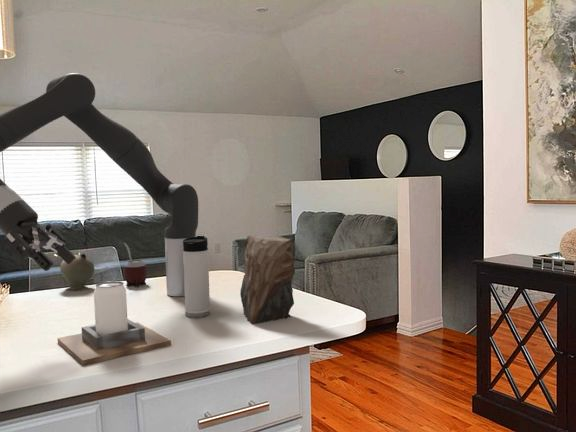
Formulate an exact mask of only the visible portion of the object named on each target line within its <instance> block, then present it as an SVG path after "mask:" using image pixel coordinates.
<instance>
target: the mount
mask: <svg viewBox="0 0 576 432" xmlns="http://www.w3.org/2000/svg"><path fill="white" fill-rule="evenodd" d="M127 320H128V330H125V331H120V332H115V333H111V334H106V335H99V334H98V333H96V325H95V324H92V325H86V326H82V327H81V333H77V334H73V335H66V336H61V337H57V343H58V344H59V346H61V347H62V348H63V349H64V350H65V351H66V352H67V353H69V354H70V356H72V357H73V358H74V359H75V360H76V361H77V362H78V363H80V365H82V366H87V365H91V364H95V363H96V364H97V363H99V362H105V361H108V360H109V361H110V360H113V359H116V358H122V357H125V356H126V357H127V356H128V355H129V356H130V355H133V354H139V353H142V352H147V351H152V350H154V349H160V348H163V347H168V346H169V347H170V346H172V340H171V339H169V338H167V337H165V336H164V335H162V334H160V333H158V332H156V331H154V330H153V329H151V328H149V327H148V326H145V325H144V324H142V323H139V322H134V321H132V320H130V319H129V318H127Z"/></svg>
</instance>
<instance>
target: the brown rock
mask: <svg viewBox="0 0 576 432" xmlns="http://www.w3.org/2000/svg"><path fill="white" fill-rule="evenodd" d="M246 240H247V243H246V248H245V252H244V255H243V260H242V261H243V270H244V271H243V272H244V274H243V278H242V283H241V287H240V294H239V295H240V300H241V305H242V309H243V315H244V317H245V318H246V321H247V322H249V324H250V325H255V324H261V323H267V322H272V321H271V320H273V321H277V320H284V319H283V318H285V319H288V317H289V318H291V317H290V311H291V309H292V307H293V306H294V304H295V301H294V294H293V291H294V290H293V286H292V283H293V279H294V275H295V274H296V270H295V266H294V264H295V261H294V259H295V258H294V254H293V242H294V239H293V238H292V237H290V238H287V237H284V236H282V235H281V236H280V235H277V236H276V235H275V236H258V235H250V234H249V235H247V237H246Z"/></svg>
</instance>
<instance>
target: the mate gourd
mask: <svg viewBox="0 0 576 432" xmlns="http://www.w3.org/2000/svg"><path fill="white" fill-rule="evenodd" d="M123 245H124V246H125V248H126V251H127V252H128V257H129V258H128V259H129V260H128V261H126V263H125V264H124V278H125V281H126V284H125V285H126V287H132V286H134V287H135V288H138V287H139V286H142V285H146V284H147V282H146V280H147V273H148V272H147V271H148V270H147V265H146V262H145V261H144V260H143V259H132V254H131V249H130V247H129V246H128V244H127V243H126V242H123Z"/></svg>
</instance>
